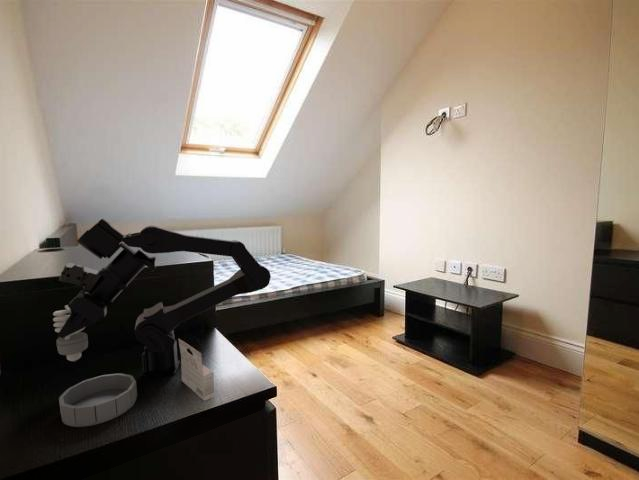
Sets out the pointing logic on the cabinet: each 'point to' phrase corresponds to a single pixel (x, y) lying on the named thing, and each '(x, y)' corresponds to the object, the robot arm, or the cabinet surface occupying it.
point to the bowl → (97, 400)
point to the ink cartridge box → (196, 372)
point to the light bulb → (69, 337)
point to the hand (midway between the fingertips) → (63, 331)
